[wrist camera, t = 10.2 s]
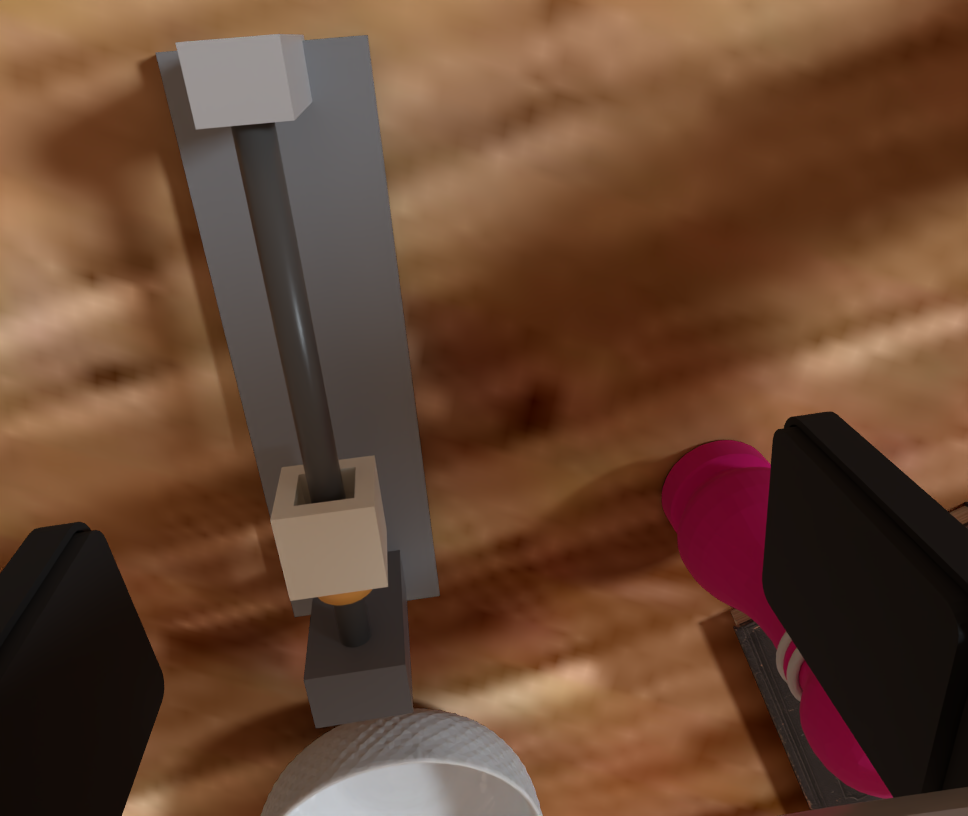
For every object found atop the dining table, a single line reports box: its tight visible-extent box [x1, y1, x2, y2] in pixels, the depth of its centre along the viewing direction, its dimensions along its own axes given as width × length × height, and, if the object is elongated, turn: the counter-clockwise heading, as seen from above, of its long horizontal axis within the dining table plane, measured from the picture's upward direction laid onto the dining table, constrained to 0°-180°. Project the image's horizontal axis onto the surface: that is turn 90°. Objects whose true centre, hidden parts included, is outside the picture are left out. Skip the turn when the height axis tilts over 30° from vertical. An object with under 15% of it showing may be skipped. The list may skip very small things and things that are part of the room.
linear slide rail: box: [156, 34, 440, 728], centre depth 32 cm, size 8×28×9 cm, turn 4°
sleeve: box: [270, 455, 388, 601], centre depth 32 cm, size 4×4×4 cm
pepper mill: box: [662, 440, 893, 799], centre depth 33 cm, size 7×7×20 cm
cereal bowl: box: [260, 708, 543, 816], centre depth 45 cm, size 17×17×7 cm
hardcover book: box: [730, 502, 968, 810], centre depth 50 cm, size 16×23×2 cm
